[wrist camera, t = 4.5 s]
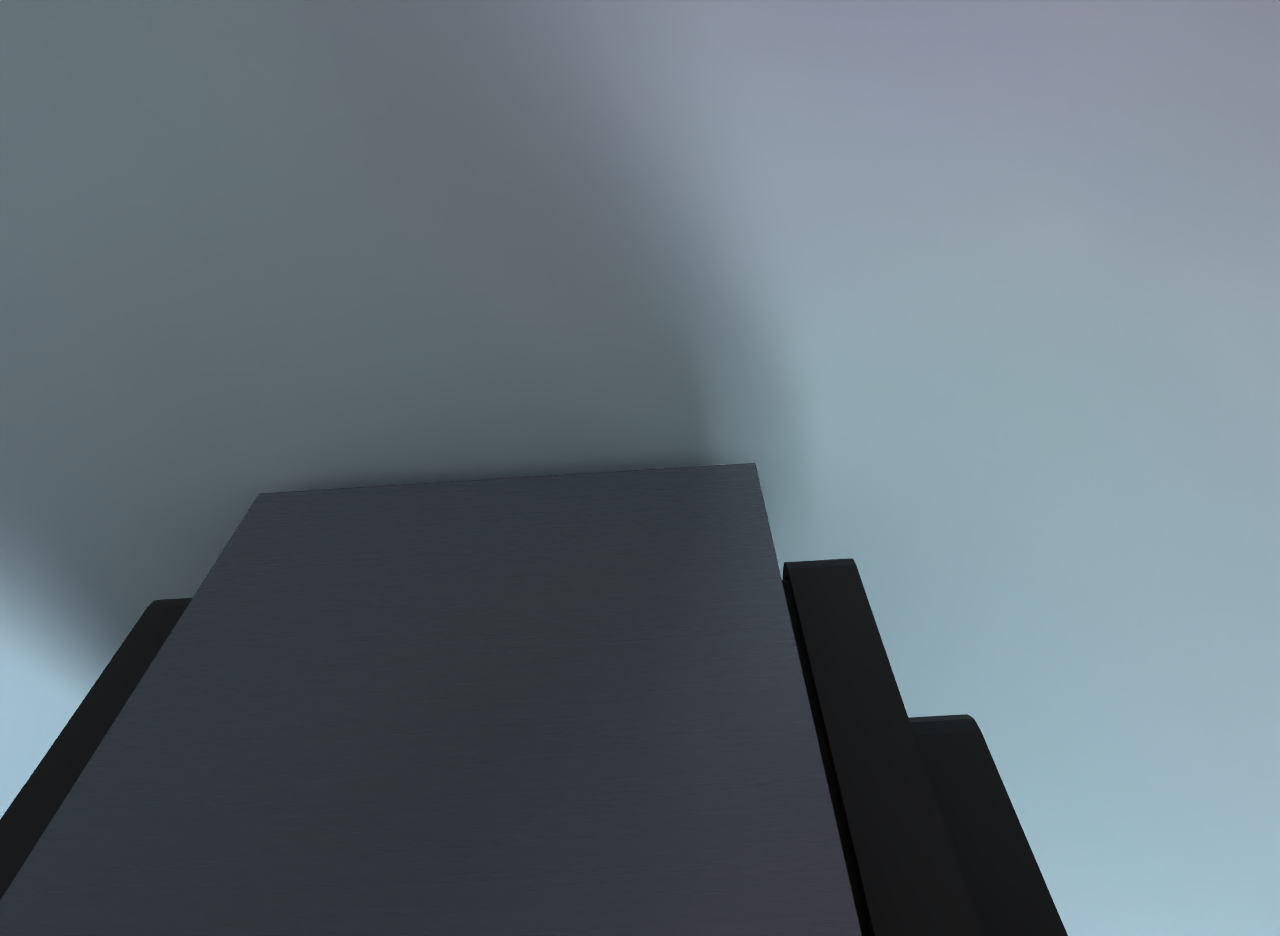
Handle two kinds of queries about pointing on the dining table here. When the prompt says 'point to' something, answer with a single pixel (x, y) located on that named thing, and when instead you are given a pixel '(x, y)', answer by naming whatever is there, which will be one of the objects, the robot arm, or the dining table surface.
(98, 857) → the grey mallet
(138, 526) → the dining table surface
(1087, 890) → the dining table surface
